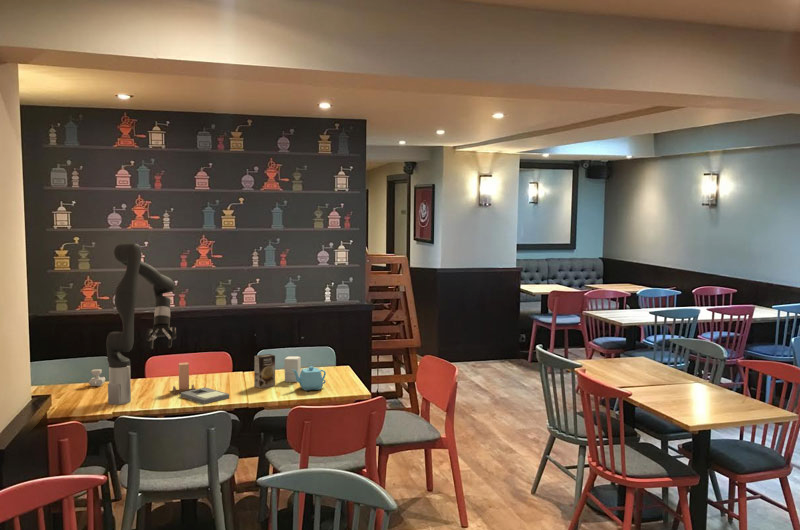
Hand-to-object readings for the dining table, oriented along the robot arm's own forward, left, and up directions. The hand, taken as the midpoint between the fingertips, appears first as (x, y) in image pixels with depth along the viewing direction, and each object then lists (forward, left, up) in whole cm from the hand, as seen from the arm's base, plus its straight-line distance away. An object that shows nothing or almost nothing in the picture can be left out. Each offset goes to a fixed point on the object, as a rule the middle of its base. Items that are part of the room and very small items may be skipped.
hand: (160, 347), depth 322 cm
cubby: (+5, -10, -22) cm, 25 cm away
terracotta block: (+5, -10, -22) cm, 25 cm away
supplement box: (+41, -53, -23) cm, 70 cm away
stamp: (+2, +39, -23) cm, 45 cm away
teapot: (+27, -68, -23) cm, 76 cm away
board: (-3, -26, -22) cm, 35 cm away
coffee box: (+26, -44, -23) cm, 56 cm away
